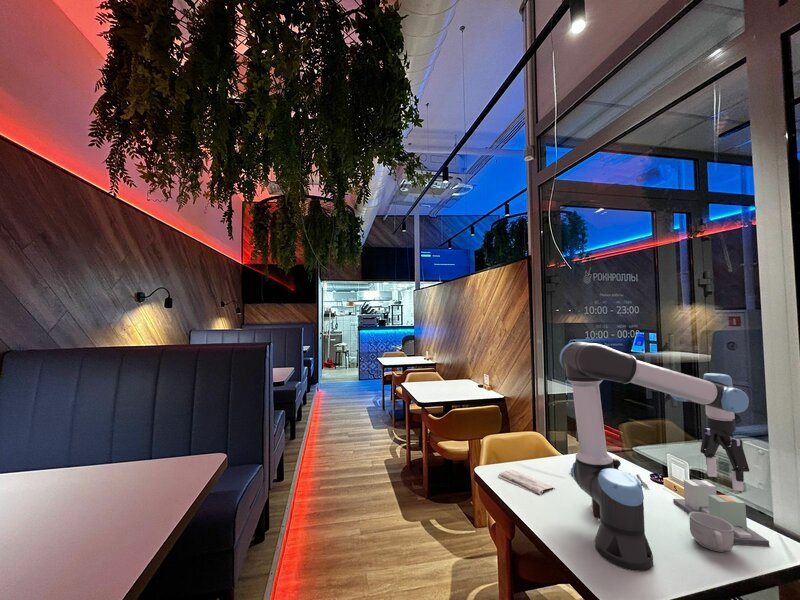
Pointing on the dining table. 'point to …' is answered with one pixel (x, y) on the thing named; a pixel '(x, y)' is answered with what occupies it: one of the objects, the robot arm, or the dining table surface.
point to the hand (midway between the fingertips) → (724, 483)
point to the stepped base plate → (699, 502)
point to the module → (728, 510)
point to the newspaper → (524, 481)
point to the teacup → (711, 531)
